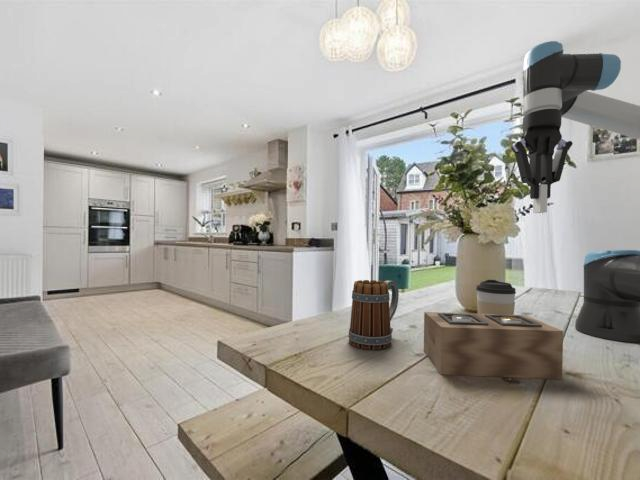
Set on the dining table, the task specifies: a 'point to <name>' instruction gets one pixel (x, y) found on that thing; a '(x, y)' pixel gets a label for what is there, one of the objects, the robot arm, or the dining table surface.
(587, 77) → the robot arm
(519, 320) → the peg
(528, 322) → the socket block
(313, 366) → the dining table surface
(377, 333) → the mug
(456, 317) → the peg
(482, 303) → the coffee cup
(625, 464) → the dining table surface
